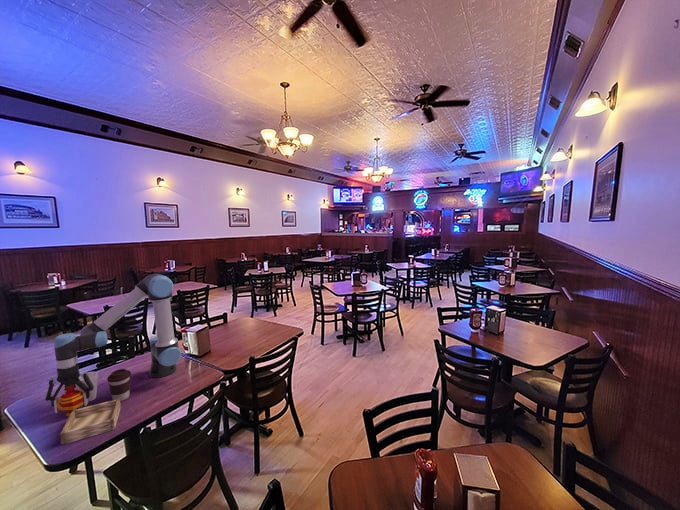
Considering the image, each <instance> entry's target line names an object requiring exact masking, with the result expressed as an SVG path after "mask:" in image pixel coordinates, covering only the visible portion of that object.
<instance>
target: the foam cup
mask: <svg viewBox="0 0 680 510" xmlns="http://www.w3.org/2000/svg"><path fill="white" fill-rule="evenodd" d="M87 372H88V371H87ZM88 377H89V379H90V381H91V382H92V384H93V386H94V388H93V390H92V391H89V392H90V397H89V398H88V403H89V402H91V401H93V400H95V399H96V398H97V391H98V381H99V372H98V371H89V372H88ZM79 379H80V381H81V382H82V383H84V384H85V385H86V386H87V384H86V383H85V381H84V379H83V378H82V377H81V376H79ZM87 387H88V386H87ZM75 389H78V390H80V391H82V392H84V391H83V390H82V389H81V388H80V387H78V386H77V385H76V388H75Z"/></svg>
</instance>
